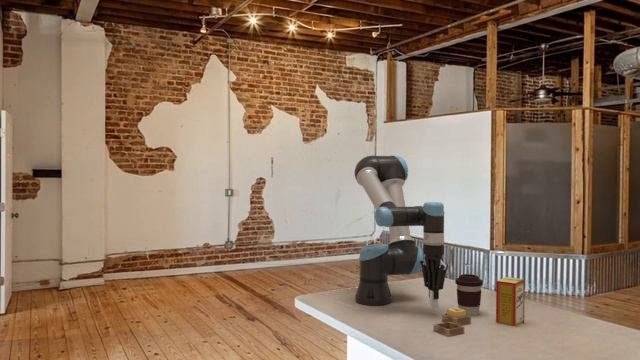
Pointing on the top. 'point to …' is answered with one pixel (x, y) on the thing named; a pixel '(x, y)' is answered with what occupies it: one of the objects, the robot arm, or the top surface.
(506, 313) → the baking soda box
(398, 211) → the robot arm
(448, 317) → the box
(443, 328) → the box
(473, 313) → the coffee cup
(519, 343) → the top surface
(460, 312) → the letter cube
